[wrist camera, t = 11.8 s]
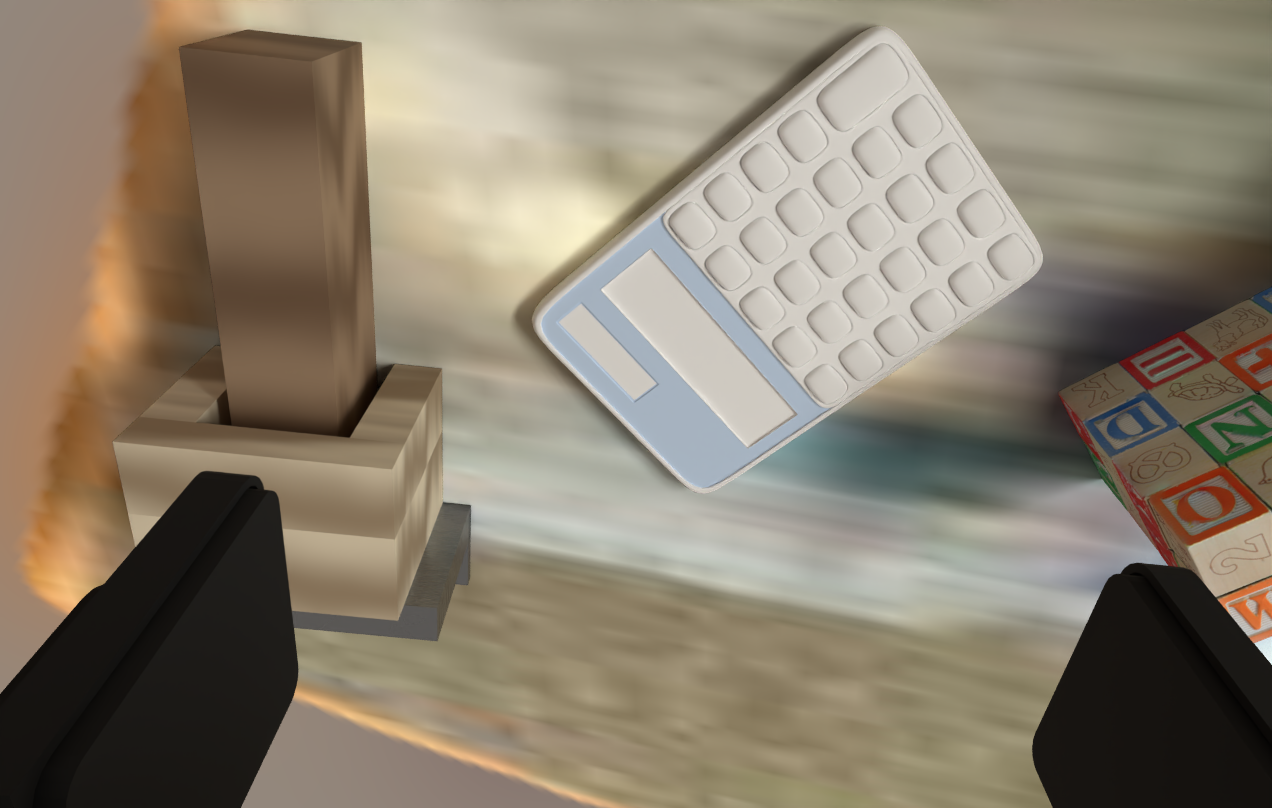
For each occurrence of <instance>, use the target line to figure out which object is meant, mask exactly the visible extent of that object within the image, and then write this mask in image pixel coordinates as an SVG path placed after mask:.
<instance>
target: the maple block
mask: <svg viewBox="0 0 1272 808" xmlns="http://www.w3.org/2000/svg"><path fill="white" fill-rule="evenodd" d="M113 447H114V451H115V456H116V460H117V465H118V470H119V474H120V479H121V483H122V488H123V492H124V497H125V501H126V506H127V511H128V515H129V520H130V524H131V529H132V533H133V538H134V542H135V547H136V546H137V545H138V544H139V542H140V541H141V540H142V539H143V538H144V536H145V535H146V534H147V533H148V532H149V531H150V529H151V528H152V527H153V526H154V525H155V523H156V522H157V521H158V520H159V519H160V518H161V516H162V515H163V514H164V513H165V512H166V510H167V509H168V508H169V507H170V506H171V505H172V503H173V502H174V501H175V500H176V499H177V497H178V496H179V495H180V494H181V493H182V492H183V490H184V489H185V488H186V487H187V486H188V484H189V483H190V482H191V481H192V480H193V479H194V477H195V476H197V475H198V474H199V473H200V472H203V471H215V472H225V473H235V474H245V475H255V476H257V477H259V478H260V479H261V481H262V483H263V486H264V490H273V491H275V492H276V493H277V495H278V498H279V503H280V512H281V520H282V529H283V538H284V546H285V555H286V564H287V573H288V581H289V590H290V599H291V607H292V611H300V612H311V613H321V614H332V615H342V616H353V617H364V618H374V619H385V620H395V621H398V619H399V617H400V614H401V611H402V609H403V606H404V604H405V601H406V598H407V596H408V593H409V590H410V588H411V585H412V582H413V580H414V577H415V574H416V572H417V569H418V567H419V564H420V561H421V559H422V556H423V553H424V551H425V548H426V545H427V543H428V540H429V537H430V535H431V532H432V530H433V527H434V524H435V522H436V519H437V516H438V514H439V511H440V508H441V506H442V503H443V471H442V369H439V368H429V367H420V366H410V365H400V364H394V366H393V368H392V369H391V371H390V373H389V374H388V376H387V377H386V379H385V381H384V382H383V384H382V386H381V387H380V389H379V391H378V392H377V394H376V396H375V397H374V399H373V401H372V402H371V404H370V405H369V407H368V409H367V410H366V412H365V414H364V415H363V417H362V419H361V420H360V422H359V424H358V425H357V427H356V428H355V430H354V432H353V433H352V435H351V437H350V438H347V437H337V436H327V435H317V434H307V433H297V432H287V431H277V430H267V429H257V428H247V427H237V426H232V423H231V416H230V409H229V402H228V394H227V387H226V380H225V373H224V366H223V359H222V352H221V346H214V347H213V348H212V349H211V350H210V351H208V352H207V353H206V354H205V355H204V356H203V357H202V358H201V359H200V360H199V361H198V362H197V363H196V364H195V365H194V366H193V367H191V368H190V369H189V370H188V371H187V372H186V373H185V374H184V375H183V376H182V377H181V378H180V379H179V380H178V381H177V382H175V383H174V384H173V385H172V386H171V387H170V388H169V389H168V390H167V391H166V392H165V393H164V394H163V395H162V396H161V397H160V398H158V399H157V400H156V401H155V402H154V403H153V404H152V405H151V406H150V407H149V408H148V409H147V410H146V411H145V412H144V413H142V414H141V415H140V416H139V417H138V418H137V419H136V420H135V421H134V422H133V423H132V424H131V425H130V426H129V427H128V428H127V429H125V430H124V431H123V432H122V433H121V434H120V435H119V436H118V437H117V438H116V439H115V440H114V441H113Z"/></svg>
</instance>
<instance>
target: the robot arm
mask: <svg viewBox="0 0 1272 808" xmlns="http://www.w3.org/2000/svg"><path fill="white" fill-rule="evenodd" d="M297 680H298V660H297V651H296V642H295V634H294V625H293V616H292V607H291V599H290V590H289V581H288V573H287V564H286V555H285V546H284V538H283V529H282V520H281V512H280V503H279V498H278V495H277V493H276V492H275V491H273V490H264V486H263V483H262V481H261V479H260V478H259V477H257V476H255V475H245V474H235V473H225V472H215V471H203V472H200V473H199V474H198V475H197V476H195V477H194V479H193V480H192V481H191V482H190V483H189V484H188V486H187V487H186V488H185V489H184V490H183V492H182V493H181V494H180V495H179V496H178V497H177V499H176V500H175V501H174V502H173V503H172V505H171V506H170V507H169V508H168V509H167V510H166V512H165V513H164V514H163V515H162V516H161V518H160V519H159V520H158V521H157V522H156V523H155V525H154V526H153V527H152V528H151V529H150V531H149V532H148V533H147V534H146V535H145V536H144V538H143V539H142V540H141V541H140V542H139V544H138V545H137V546H136V547H135V548H134V549H133V551H132V552H131V553H130V554H129V555H128V557H127V558H126V559H125V560H124V561H123V562H122V564H121V565H120V566H119V567H118V568H117V570H116V571H115V572H114V573H113V574H112V575H111V577H110V578H109V579H108V580H107V581H106V582H105V584H103V585H101V586H98V587H96V588H94V589H93V590H91V591H90V592H89V593H88V594H87V595H86V596H85V597H84V598H83V599H82V600H81V601H80V602H79V603H78V604H77V605H76V607H75V608H74V609H73V610H72V611H71V612H70V614H69V615H68V616H67V617H66V618H65V619H64V620H63V622H62V623H61V624H60V625H59V627H57V629H56V630H55V631H54V632H53V633H52V634H51V636H50V637H49V638H48V639H47V640H46V641H45V643H44V644H43V645H42V646H41V647H40V648H39V650H38V651H37V652H36V653H35V654H34V655H33V657H32V658H31V659H30V660H29V661H28V662H27V664H26V665H25V666H24V667H23V668H22V669H21V671H20V672H19V673H18V674H17V675H16V676H15V678H14V679H13V680H12V681H11V682H10V683H9V685H8V686H7V687H6V688H5V689H4V690H3V691H2V693H1V694H0V808H241V806H242V804H243V802H244V800H245V798H246V796H247V793H248V792H249V789H250V787H251V785H252V783H253V781H254V779H255V777H256V775H257V773H258V770H259V768H260V766H261V764H262V762H263V760H264V758H265V756H266V754H267V751H268V749H269V747H270V745H271V743H272V741H273V739H274V737H275V735H276V732H277V730H278V729H279V726H280V724H281V722H282V720H283V718H284V716H285V714H286V712H287V710H288V707H289V705H290V703H291V701H292V699H293V696H294V693H295V689H296V685H297ZM1032 753H1033V761H1034V765H1035V768H1036V771H1037V773H1038V775H1039V778H1040V780H1041V782H1042V784H1043V787H1044V789H1045V791H1046V793H1047V796H1048V798H1049V800H1050V802H1051V805H1052V807H1053V808H1272V665H1271V663H1270V662H1269V661H1268V660H1267V659H1266V657H1265V656H1264V655H1263V654H1262V653H1261V651H1260V650H1259V649H1258V648H1257V647H1256V645H1255V644H1254V643H1253V642H1252V641H1251V639H1250V638H1249V637H1248V636H1247V635H1246V633H1245V632H1244V631H1243V630H1242V628H1241V627H1240V626H1239V625H1238V624H1237V622H1236V621H1235V620H1234V619H1233V618H1232V616H1231V615H1230V614H1229V613H1228V612H1227V610H1226V609H1225V608H1224V607H1223V606H1222V604H1221V603H1220V602H1219V601H1218V599H1217V598H1216V597H1215V596H1214V595H1213V593H1212V592H1211V591H1210V590H1209V589H1208V587H1207V586H1206V585H1205V584H1204V583H1203V581H1202V580H1201V579H1200V578H1199V577H1198V576H1197V575H1196V574H1195V573H1194V572H1193V571H1192V570H1190V569H1187V568H1184V567H1174V566H1164V565H1154V564H1144V563H1133V564H1130V565H1128V566H1127V567H1125V568H1124V569H1123V571H1122V572H1121V574H1115V575H1113V576H1111V577H1110V578H1109V579H1108V580H1107V582H1106V584H1105V586H1104V588H1103V590H1102V592H1101V594H1100V596H1099V598H1098V600H1097V603H1096V605H1095V607H1094V609H1093V611H1092V613H1091V615H1090V618H1089V620H1088V622H1087V624H1086V626H1085V628H1084V630H1083V632H1082V635H1081V637H1080V639H1079V641H1078V643H1077V645H1076V647H1075V650H1074V652H1073V654H1072V656H1071V658H1070V660H1069V662H1068V664H1067V667H1066V669H1065V671H1064V673H1063V675H1062V677H1061V679H1060V682H1059V684H1058V686H1057V688H1056V690H1055V692H1054V694H1053V697H1052V699H1051V701H1050V703H1049V705H1048V707H1047V709H1046V711H1045V714H1044V716H1043V718H1042V720H1041V722H1040V724H1039V726H1038V729H1037V731H1036V733H1035V736H1034V739H1033V745H1032Z"/></svg>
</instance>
